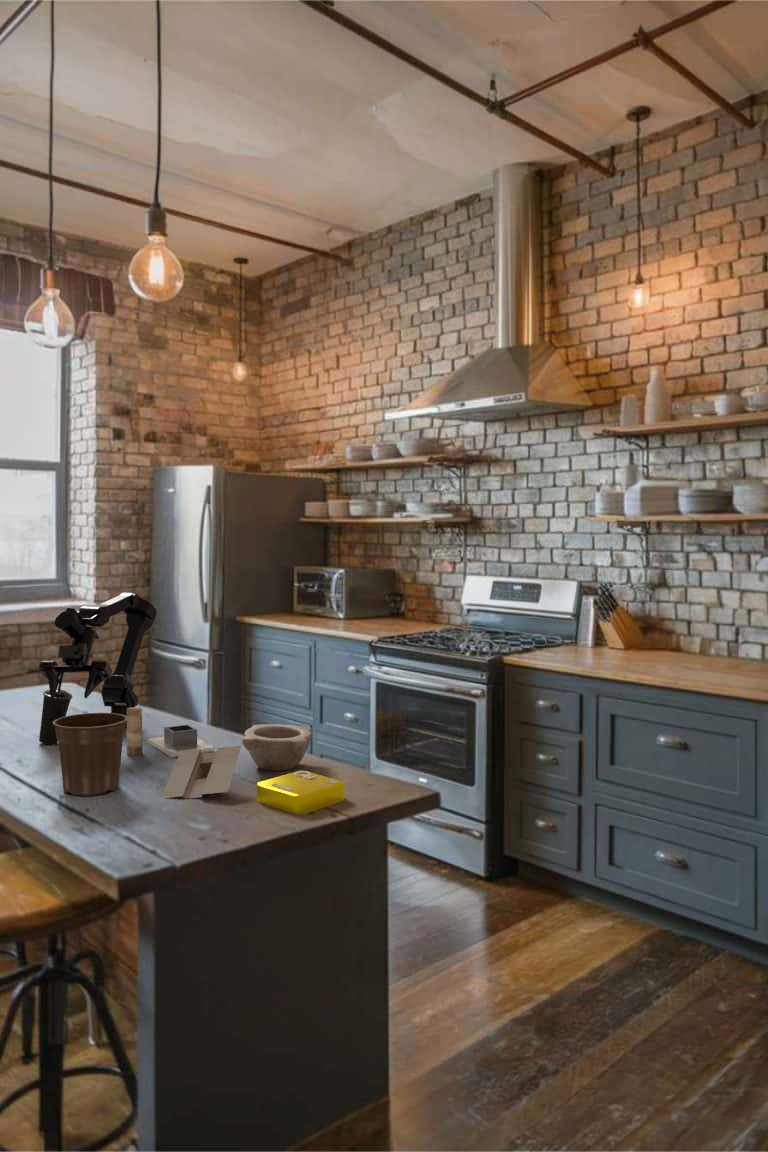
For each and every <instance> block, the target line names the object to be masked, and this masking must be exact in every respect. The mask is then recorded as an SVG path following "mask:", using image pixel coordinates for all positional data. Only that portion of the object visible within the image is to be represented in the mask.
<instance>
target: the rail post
mask: <svg viewBox="0 0 768 1152" xmlns="http://www.w3.org/2000/svg"><path fill="white" fill-rule="evenodd" d="M127 717H128V720H127V728H126V755H127V756H131V757H133V756H139V755H140V756H141V755H143V708H142V707H140V706H139V707H136V706H135V707H132V708H127Z"/></svg>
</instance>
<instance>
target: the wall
mask: <svg viewBox="0 0 768 1152" xmlns="http://www.w3.org/2000/svg"><path fill="white" fill-rule="evenodd" d="M241 748H242V746H241V745H234V746H224V747H216V751H214V752H207V753H201V750H189V751H181V753H180V755H179V757H177V759H176V761H175V764H174V766H173V768H172V771H171V773H170V775H169V777H168V779H167V780H166V781H167V782H166V784H165V786H164V788H163V791H162V793H161V795H160V797H159V798H162V799H166V798H167V799H169V798H171V799H172V798H177V797H180V798H181V797H183V799H196V798H202V797H203V796H204V795H208V794H218V793H221V794H222V793H229V790H230V787H231V783H232V781H233V780H232V779H233V777H234V773H235V770H236V765H237V763H238V759H239V755H240V752H241Z"/></svg>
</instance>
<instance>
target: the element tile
mask: <svg viewBox="0 0 768 1152" xmlns="http://www.w3.org/2000/svg"><path fill="white" fill-rule="evenodd" d="M343 801H345V782H344V781H343V780H340V779H335V778H333V777H329V776H325V775H321V774H317V773H314V772H310V771H306V770H296V771H294V772H290V773H286V774H283V775H278V776H276V777H272V778H269V779H265V780H261V781H258V782H257V783H256V802H257V803H260V804H264V805H267V806H270V807H273V808H275V809H279V810H282V811H285V812H288V813H291V814H296V815H303V814H304V815H305V814H308V813H312V812H314V811H317V810H321V809H323V808H326V807H329V806H333V805H335V804H337V803H341V802H343Z"/></svg>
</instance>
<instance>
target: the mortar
mask: <svg viewBox="0 0 768 1152" xmlns="http://www.w3.org/2000/svg"><path fill="white" fill-rule="evenodd" d="M312 733H313V729H312V728H311V727H310V726H305V725H293V724H281V723H278V724H277V723H275V724H273V723H267V724H265V723H264V724H263V723H261V724H254V725H251V727H249V728H247V729H246V730H245V731H244V734H243V735H244V737H242V740H241V741H242V745H243V747H244V748H245V749H246V750H247V751H248V753H249V755H250V757H251V760H252V761H253V762H254V764H255V765H256V766H257V767H258V768H260V769H263V770H265V771H273V772H276V771H277V772H279V771H280V772H282V771H287V770H291V769H294V768H296V767H297V766H298V765H299V764H300V763H301V761H302V759H303V758H304V756H305V754H306V752H307V750H308V748H309V746H310V742H311V740H312V735H313V734H312Z"/></svg>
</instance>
